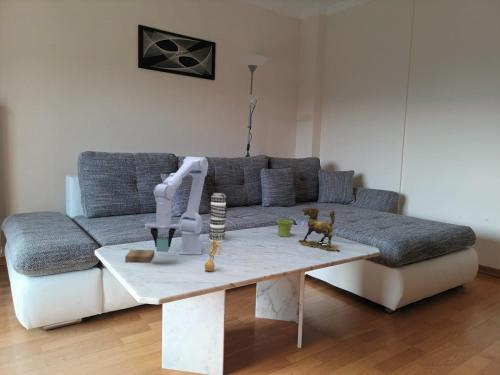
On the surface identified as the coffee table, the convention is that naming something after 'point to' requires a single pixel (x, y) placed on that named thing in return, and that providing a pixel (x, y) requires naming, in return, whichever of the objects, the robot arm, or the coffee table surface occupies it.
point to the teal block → (162, 244)
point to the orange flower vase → (209, 264)
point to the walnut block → (139, 256)
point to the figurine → (319, 229)
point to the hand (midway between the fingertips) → (163, 246)
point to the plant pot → (284, 227)
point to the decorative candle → (217, 217)
